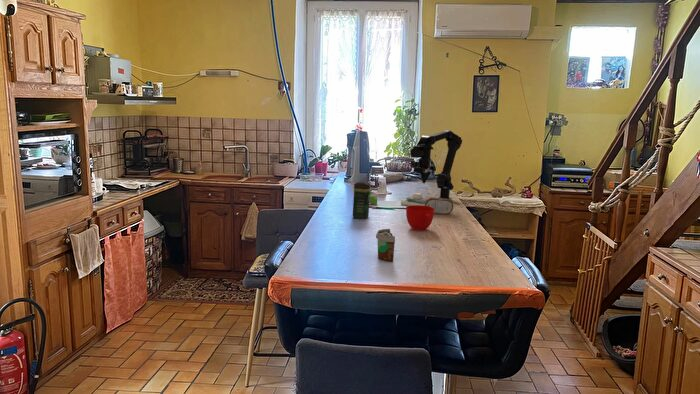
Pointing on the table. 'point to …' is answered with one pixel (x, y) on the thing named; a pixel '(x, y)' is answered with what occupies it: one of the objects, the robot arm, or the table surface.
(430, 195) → the tile
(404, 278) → the table surface
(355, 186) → the coffee jar
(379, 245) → the food container
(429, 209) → the ceramic cup
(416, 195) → the tile
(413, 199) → the plate
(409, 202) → the box
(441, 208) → the tin
